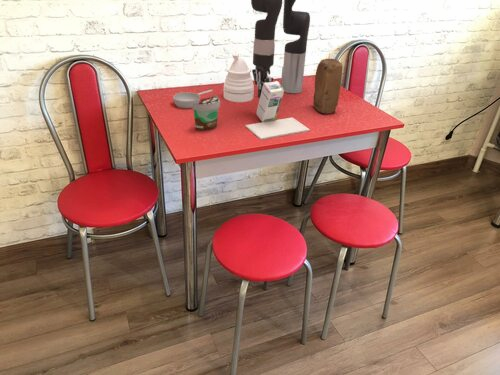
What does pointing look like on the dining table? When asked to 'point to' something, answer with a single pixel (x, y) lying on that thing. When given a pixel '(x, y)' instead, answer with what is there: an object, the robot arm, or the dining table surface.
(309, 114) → the dining table surface
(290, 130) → the mat
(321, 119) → the dining table surface
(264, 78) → the robot arm
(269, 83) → the syrup box
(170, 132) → the dining table surface
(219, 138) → the dining table surface
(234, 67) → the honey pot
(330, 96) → the block
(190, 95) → the saucepan
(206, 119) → the food container
